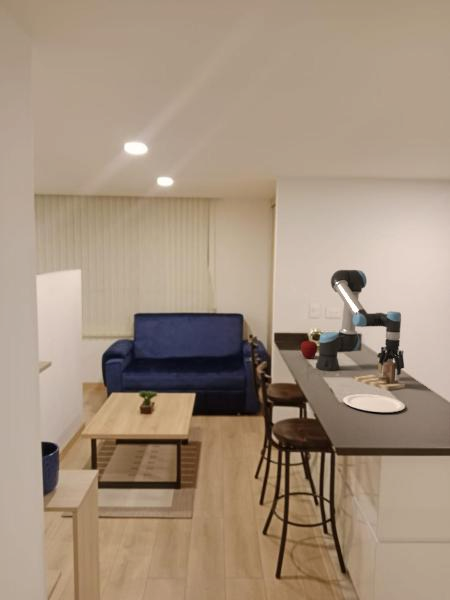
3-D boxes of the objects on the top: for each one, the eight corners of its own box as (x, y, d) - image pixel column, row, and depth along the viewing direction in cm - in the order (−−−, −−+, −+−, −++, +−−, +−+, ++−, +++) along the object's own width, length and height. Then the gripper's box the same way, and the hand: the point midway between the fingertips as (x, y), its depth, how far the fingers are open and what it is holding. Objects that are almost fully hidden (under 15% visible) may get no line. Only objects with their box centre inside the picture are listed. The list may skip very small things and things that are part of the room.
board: (352, 379, 284) (352, 376, 284) (369, 377, 291) (369, 373, 291) (388, 390, 262) (388, 386, 262) (404, 387, 269) (405, 383, 269)
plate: (397, 419, 215) (397, 415, 215) (334, 407, 231) (335, 404, 230) (410, 403, 240) (410, 400, 240) (353, 393, 255) (353, 390, 255)
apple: (319, 358, 345) (320, 339, 344) (313, 360, 335) (314, 341, 334) (303, 355, 351) (304, 337, 350) (297, 358, 342) (298, 340, 340)
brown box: (375, 382, 271) (376, 363, 270) (389, 380, 277) (390, 361, 276) (383, 385, 266) (384, 365, 265) (398, 382, 272) (399, 363, 271)
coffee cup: (394, 381, 284) (395, 356, 282) (376, 379, 285) (378, 355, 284) (391, 377, 293) (393, 352, 292) (375, 375, 295) (376, 351, 294)
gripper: (373, 336, 278) (371, 374, 280) (403, 342, 260) (401, 383, 262) (382, 335, 282) (380, 373, 284) (412, 341, 264) (410, 381, 266)
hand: (390, 378), depth 273 cm, fingers open, 8 cm apart
